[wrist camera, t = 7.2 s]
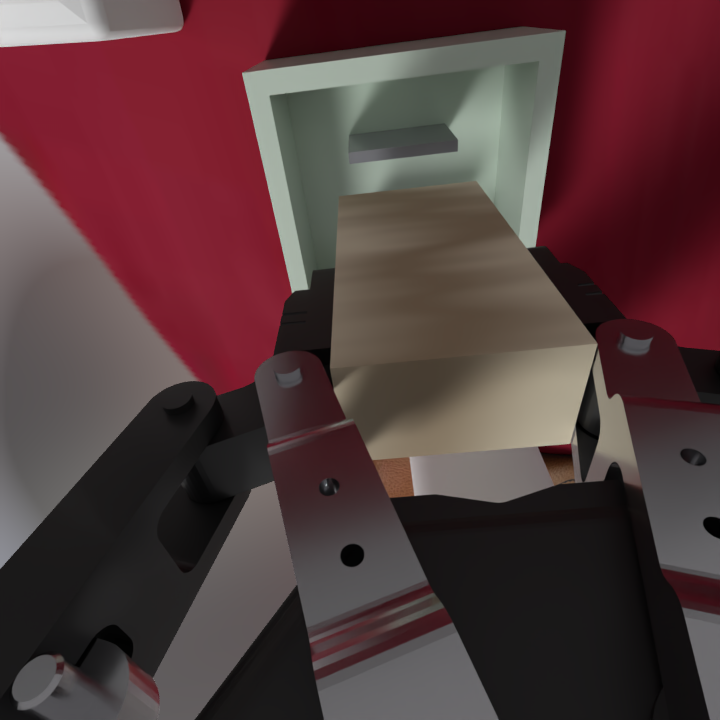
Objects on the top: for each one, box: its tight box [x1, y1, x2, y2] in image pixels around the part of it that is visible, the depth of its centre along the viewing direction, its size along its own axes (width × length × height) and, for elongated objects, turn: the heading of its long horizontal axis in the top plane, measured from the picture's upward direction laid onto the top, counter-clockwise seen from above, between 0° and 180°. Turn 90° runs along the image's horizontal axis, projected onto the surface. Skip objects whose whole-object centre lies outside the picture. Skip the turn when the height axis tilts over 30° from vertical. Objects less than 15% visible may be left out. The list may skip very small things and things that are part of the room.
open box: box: [242, 26, 566, 293], centre depth 19 cm, size 10×10×4 cm
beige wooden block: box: [330, 181, 598, 460], centre depth 12 cm, size 4×2×9 cm, turn 96°
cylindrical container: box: [409, 446, 554, 503], centre depth 19 cm, size 7×7×25 cm
